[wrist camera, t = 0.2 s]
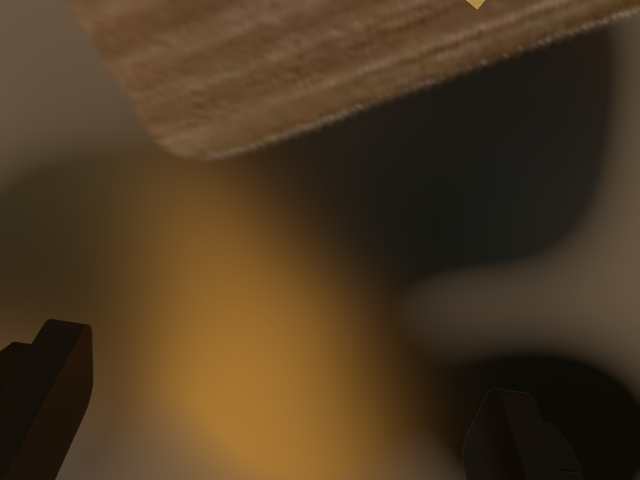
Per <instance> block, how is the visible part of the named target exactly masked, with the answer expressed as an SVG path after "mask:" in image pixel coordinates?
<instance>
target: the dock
mask: <svg viewBox="0 0 640 480" xmlns="http://www.w3.org/2000/svg"><path fill="white" fill-rule="evenodd" d="M466 1H468V2H469V3H470V4H471V5H473V6H474V7H475V8H476V9H478V8H479V7H480V6H481V5H482V3H483V2H484V1H485V0H466Z"/></svg>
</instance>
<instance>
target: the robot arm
mask: <svg viewBox="0 0 640 480" xmlns="http://www.w3.org/2000/svg"><path fill="white" fill-rule="evenodd" d="M92 351H93V348H92V328H91V326H90V325H88V324H81V323H75V322H68V321H62V320H55V319H49V320H47V321H46V322H45V324H44V325H43V327H42V328H41V330H40V331H39V333H38V335H37V336H36V338H35V339H34V341H33V342H32V344H26V343H20V342H12V343H11V344H10V345H8V346H7V347H5V348H4V349H3V350H1V351H0V480H55V479H56V477H57V474H58V472H59V470H60V468H61V466H62V463H63V461H64V459H65V456H66V454H67V452H68V450H69V448H70V446H71V443H72V441H73V439H74V437H75V435H76V432H77V430H78V428H79V426H80V423H81V421H82V419H83V417H84V415H85V412H86V410H87V407H88V404H89V401H90V397H91V393H92V387H93V352H92ZM463 463H464V470H465V474H466V479H467V480H585V478H584V477H582V475H581V474H582V471H581V468H580V466H579V463H578V461H577V458H576V456H575V453H574V451H573V448H572V447H571V445H570V444H569V443H568V442H567V440H566V439H565V438H564V437H563V435H562V434H561V433H560V432H559V430H558V429H557V428H556V427H555V426H554V424H550V423H543V422H542V419H541V416H540V414H539V411H538V408H537V406H536V403H535V401H534V399H533V397H532V396H531V395H530V394H527V393H521V392H514V391H508V390H501V389H494V388H493V389H491V390H490V391H489V392H488V393H487V395H486V397H485V399H484V401H483V403H482V405H481V407H480V409H479V411H478V413H477V415H476V417H475V420H474V422H473V423H472V425H471V427H470V430H469V431H468V433H467V436H466V438H465V442H464V448H463Z"/></svg>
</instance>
